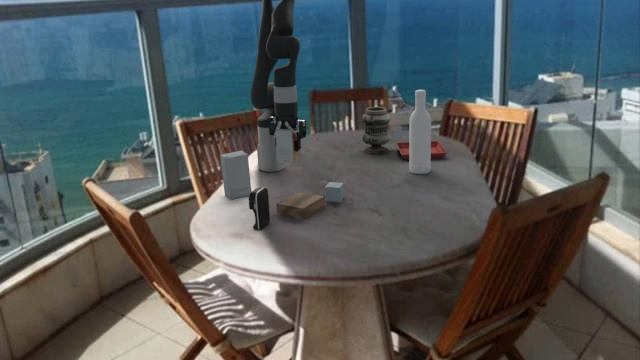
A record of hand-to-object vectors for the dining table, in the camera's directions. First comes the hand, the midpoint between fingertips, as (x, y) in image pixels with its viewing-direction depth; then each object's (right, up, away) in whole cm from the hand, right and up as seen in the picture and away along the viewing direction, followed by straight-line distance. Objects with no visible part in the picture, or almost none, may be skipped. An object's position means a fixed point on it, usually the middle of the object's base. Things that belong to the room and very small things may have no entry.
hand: (288, 149), depth 200 cm
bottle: (+48, -7, +25) cm, 54 cm away
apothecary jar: (+34, +2, +55) cm, 65 cm away
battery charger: (-7, -24, -20) cm, 32 cm away
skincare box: (-18, -16, +7) cm, 25 cm away
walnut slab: (+5, -20, -10) cm, 23 cm away
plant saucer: (+52, 0, +47) cm, 70 cm away
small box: (0, -3, +1) cm, 4 cm away
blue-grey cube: (+15, -16, -1) cm, 22 cm away
